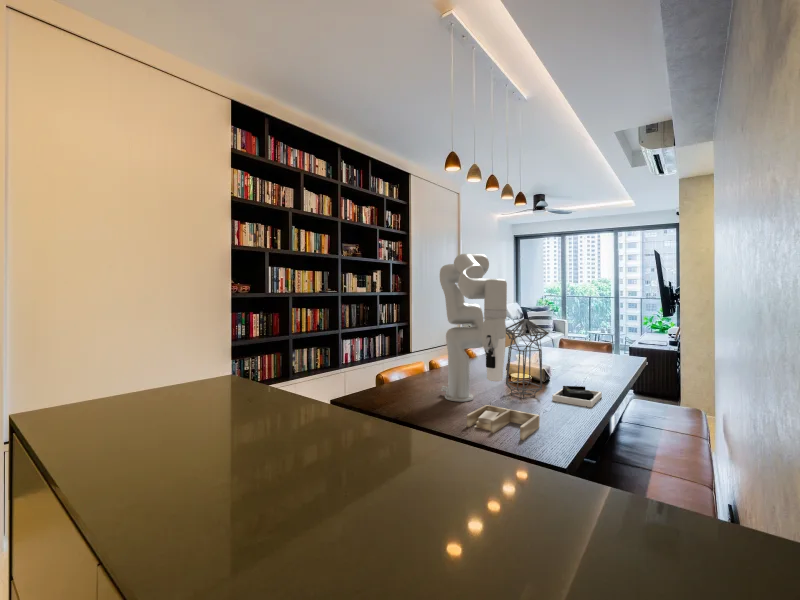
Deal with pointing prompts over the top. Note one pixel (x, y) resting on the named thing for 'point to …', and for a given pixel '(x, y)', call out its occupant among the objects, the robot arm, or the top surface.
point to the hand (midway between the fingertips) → (494, 365)
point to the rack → (507, 419)
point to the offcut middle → (483, 425)
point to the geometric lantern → (525, 353)
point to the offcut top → (487, 417)
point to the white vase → (497, 362)
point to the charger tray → (575, 401)
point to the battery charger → (577, 392)
